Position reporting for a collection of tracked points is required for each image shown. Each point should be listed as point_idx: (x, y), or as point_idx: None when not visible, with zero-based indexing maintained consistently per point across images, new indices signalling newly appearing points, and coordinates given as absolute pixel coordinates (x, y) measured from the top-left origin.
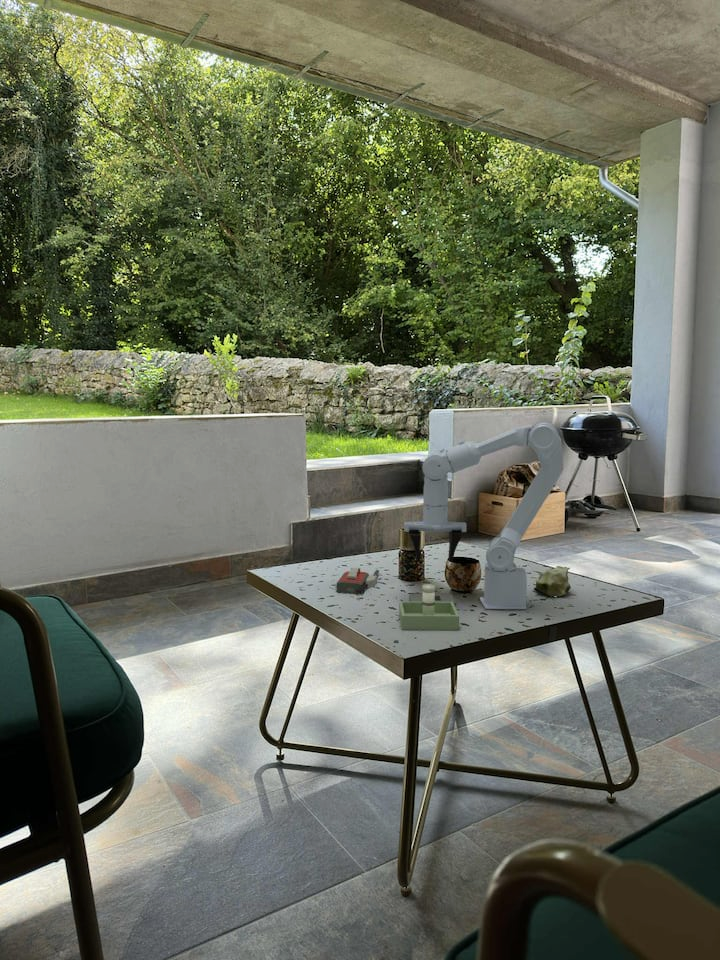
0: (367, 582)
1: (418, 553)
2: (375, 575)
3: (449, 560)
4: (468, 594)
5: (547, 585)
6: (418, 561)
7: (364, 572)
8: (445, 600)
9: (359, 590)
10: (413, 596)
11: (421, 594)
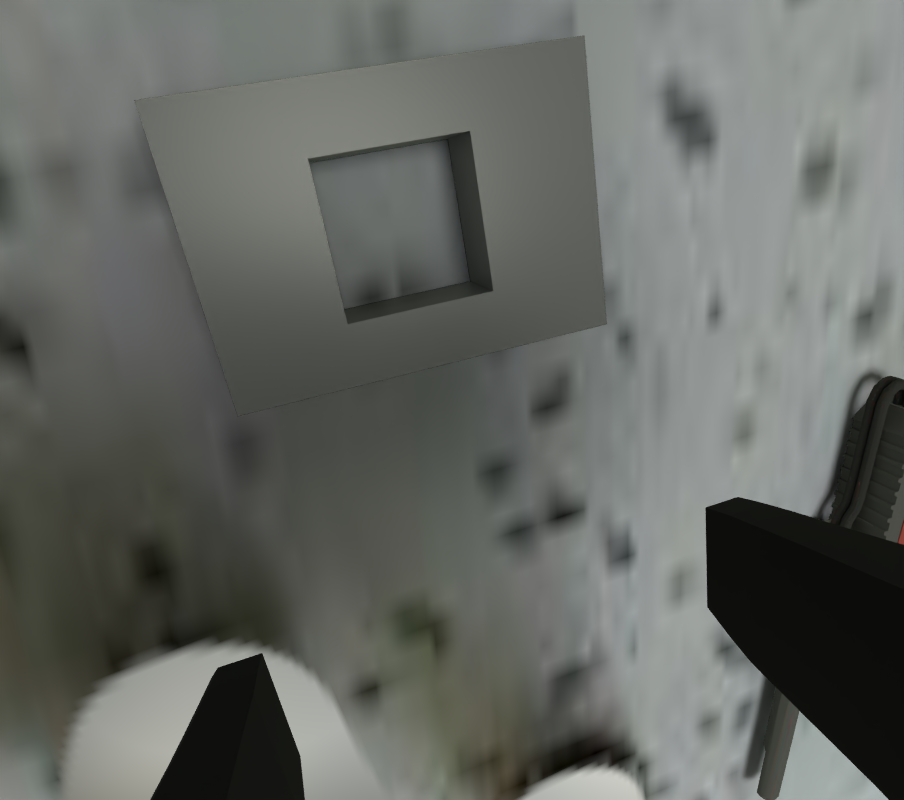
0: None
1: (849, 550)
2: (789, 705)
3: (267, 685)
4: (131, 629)
5: None
6: (731, 504)
7: None
8: (263, 169)
9: (902, 382)
10: (572, 244)
11: (508, 324)
